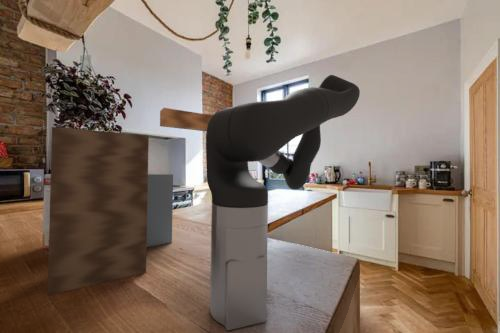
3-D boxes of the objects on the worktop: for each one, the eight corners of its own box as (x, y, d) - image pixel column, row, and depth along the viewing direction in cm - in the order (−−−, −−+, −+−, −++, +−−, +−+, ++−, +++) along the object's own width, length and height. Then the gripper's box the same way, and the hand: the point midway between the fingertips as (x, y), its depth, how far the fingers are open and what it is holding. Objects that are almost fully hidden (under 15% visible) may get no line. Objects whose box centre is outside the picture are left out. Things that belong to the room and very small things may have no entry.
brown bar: (238, 134, 72) (238, 122, 72) (244, 133, 68) (245, 120, 68) (159, 126, 58) (160, 111, 58) (163, 123, 55) (163, 107, 55)
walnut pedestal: (139, 257, 57) (141, 140, 57) (145, 272, 48) (148, 135, 49) (56, 273, 48) (59, 133, 48) (47, 295, 39) (51, 126, 40)
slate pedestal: (163, 234, 76) (165, 173, 77) (171, 242, 68) (173, 174, 68) (108, 242, 67) (110, 173, 68) (110, 253, 59) (112, 174, 59)
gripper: (256, 144, 82) (220, 115, 74) (282, 140, 70) (242, 105, 62) (247, 161, 80) (209, 133, 72) (272, 160, 68) (230, 127, 60)
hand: (225, 121), depth 67 cm, fingers closed on brown bar, 4 cm apart
